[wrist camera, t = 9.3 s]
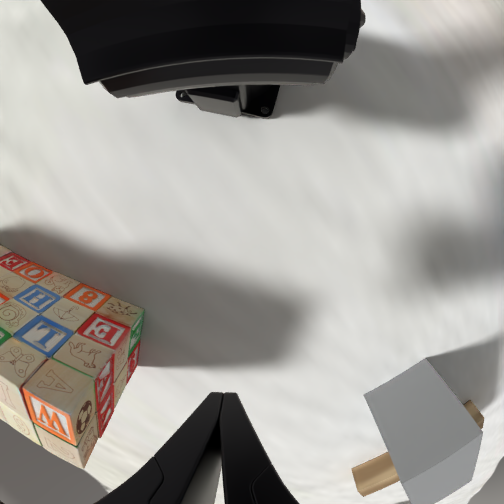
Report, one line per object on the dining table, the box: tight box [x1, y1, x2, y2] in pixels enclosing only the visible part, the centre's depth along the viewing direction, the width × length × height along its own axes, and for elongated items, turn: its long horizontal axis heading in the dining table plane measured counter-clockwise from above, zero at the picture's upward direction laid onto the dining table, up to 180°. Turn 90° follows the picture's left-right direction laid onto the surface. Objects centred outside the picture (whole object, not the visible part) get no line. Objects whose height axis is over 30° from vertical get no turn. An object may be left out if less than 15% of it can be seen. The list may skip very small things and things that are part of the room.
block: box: [364, 358, 483, 504], centre depth 19 cm, size 14×7×11 cm, turn 30°
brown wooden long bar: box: [352, 400, 484, 497], centre depth 24 cm, size 3×18×4 cm, turn 120°
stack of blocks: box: [0, 245, 144, 469], centre depth 15 cm, size 21×6×12 cm, turn 72°
